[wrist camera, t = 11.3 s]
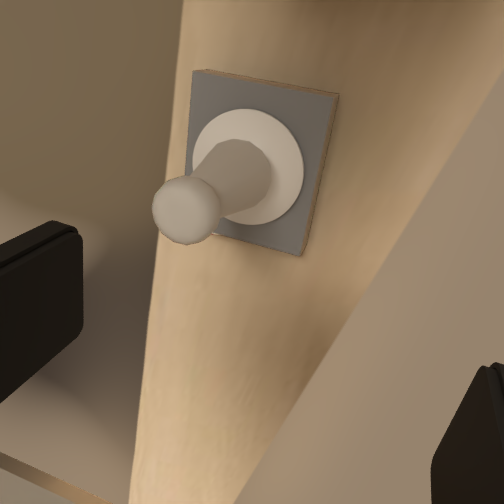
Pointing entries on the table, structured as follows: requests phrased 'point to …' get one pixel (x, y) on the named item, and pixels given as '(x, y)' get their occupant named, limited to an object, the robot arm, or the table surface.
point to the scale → (265, 149)
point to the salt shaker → (212, 191)
